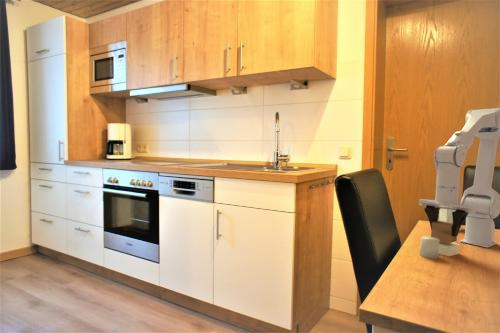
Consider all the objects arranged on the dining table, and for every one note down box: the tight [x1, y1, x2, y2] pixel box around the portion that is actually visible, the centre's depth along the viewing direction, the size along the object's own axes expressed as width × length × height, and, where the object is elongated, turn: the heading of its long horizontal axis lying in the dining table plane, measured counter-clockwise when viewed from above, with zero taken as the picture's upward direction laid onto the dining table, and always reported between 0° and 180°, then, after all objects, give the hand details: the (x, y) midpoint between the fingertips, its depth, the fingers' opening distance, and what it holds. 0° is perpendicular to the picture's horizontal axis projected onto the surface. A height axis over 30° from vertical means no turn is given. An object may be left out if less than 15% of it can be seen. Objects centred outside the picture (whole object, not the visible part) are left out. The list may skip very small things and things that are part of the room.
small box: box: [438, 206, 463, 232], centre depth 130 cm, size 8×6×10 cm
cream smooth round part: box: [419, 235, 440, 260], centre depth 91 cm, size 4×4×5 cm
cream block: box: [439, 241, 461, 257], centre depth 95 cm, size 6×6×3 cm
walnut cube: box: [430, 220, 458, 243], centre depth 95 cm, size 5×5×5 cm
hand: (444, 233), depth 95 cm, fingers closed on walnut cube, 5 cm apart
